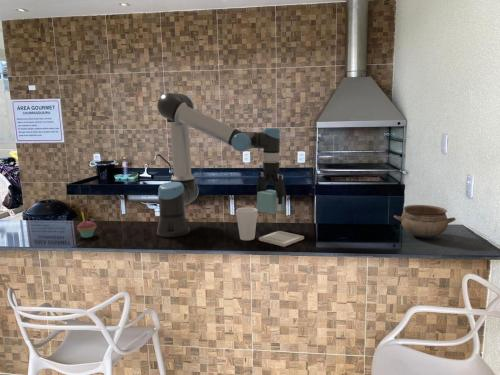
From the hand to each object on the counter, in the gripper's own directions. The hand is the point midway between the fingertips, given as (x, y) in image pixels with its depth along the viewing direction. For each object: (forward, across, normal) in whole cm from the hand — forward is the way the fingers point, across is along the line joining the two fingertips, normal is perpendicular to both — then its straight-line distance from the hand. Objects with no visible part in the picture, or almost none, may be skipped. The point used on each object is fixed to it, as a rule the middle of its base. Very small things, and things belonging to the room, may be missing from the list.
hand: (270, 209), depth 190 cm
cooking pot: (+8, -59, -34) cm, 69 cm away
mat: (+10, -14, +9) cm, 19 cm away
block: (+1, 0, 0) cm, 1 cm away
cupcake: (+13, +59, +62) cm, 86 cm away
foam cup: (+11, -1, +17) cm, 20 cm away
